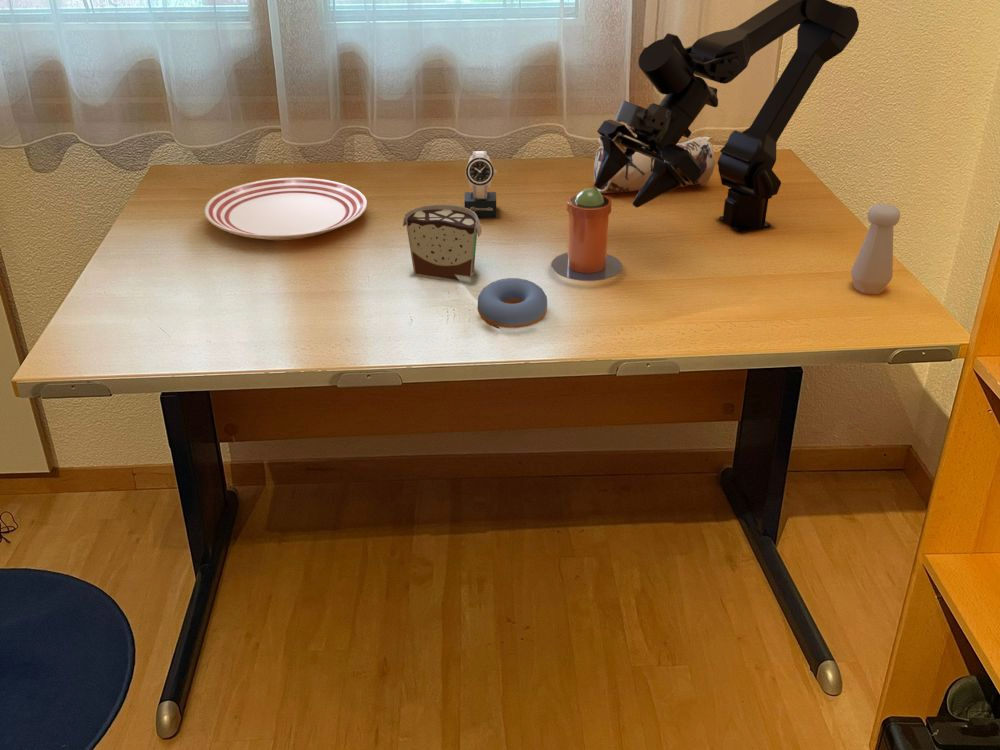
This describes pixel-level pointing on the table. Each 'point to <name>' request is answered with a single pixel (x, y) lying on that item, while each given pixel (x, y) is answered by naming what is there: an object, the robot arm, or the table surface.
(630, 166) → the pencil case
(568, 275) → the saucer
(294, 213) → the dinner plate
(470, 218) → the food container
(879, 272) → the salt shaker
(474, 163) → the watch
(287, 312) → the table surface
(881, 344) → the table surface
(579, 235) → the plant pot
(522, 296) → the doughnut
